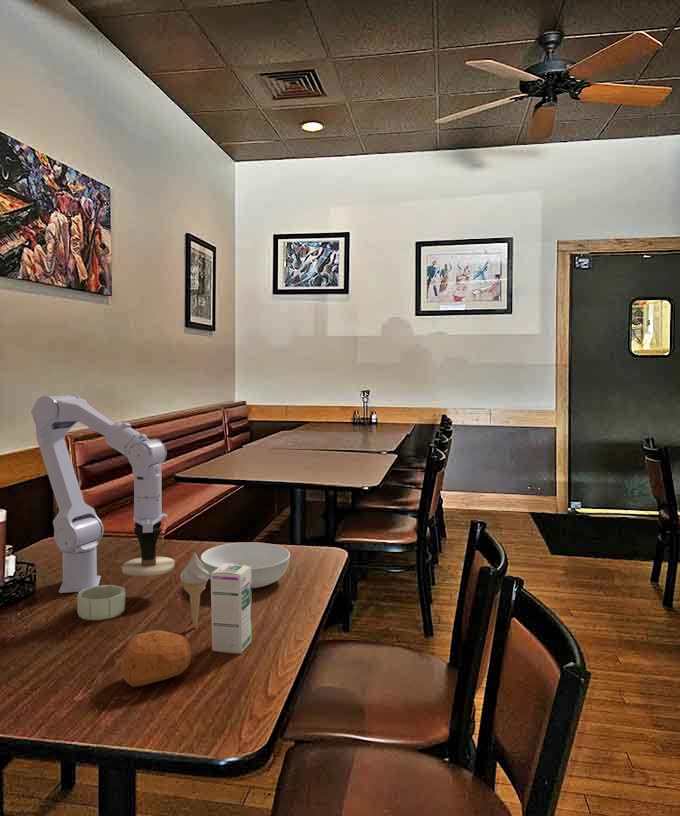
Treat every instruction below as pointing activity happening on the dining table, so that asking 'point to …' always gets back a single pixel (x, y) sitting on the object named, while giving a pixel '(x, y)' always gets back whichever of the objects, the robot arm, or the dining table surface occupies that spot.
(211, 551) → the serving bowl
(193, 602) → the ice cream cone
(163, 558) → the lid
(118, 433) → the robot arm
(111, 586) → the bowl
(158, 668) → the potato
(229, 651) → the syrup box
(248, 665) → the dining table surface
